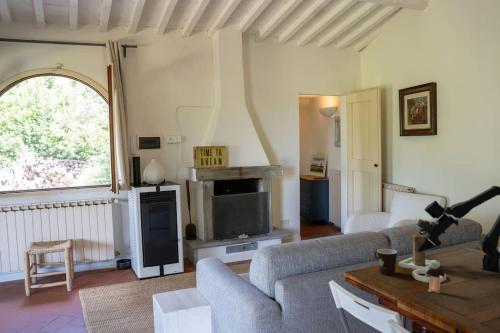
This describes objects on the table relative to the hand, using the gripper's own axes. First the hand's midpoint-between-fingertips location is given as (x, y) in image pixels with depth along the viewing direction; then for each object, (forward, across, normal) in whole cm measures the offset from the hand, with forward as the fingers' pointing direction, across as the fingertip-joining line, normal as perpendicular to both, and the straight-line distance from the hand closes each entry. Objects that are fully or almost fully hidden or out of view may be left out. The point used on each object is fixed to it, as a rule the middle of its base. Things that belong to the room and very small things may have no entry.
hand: (416, 248), depth 190 cm
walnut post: (+5, 0, +6) cm, 8 cm away
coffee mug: (+17, +10, -4) cm, 20 cm away
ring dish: (+5, +16, +7) cm, 18 cm away
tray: (+5, 0, +7) cm, 9 cm away
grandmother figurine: (+6, +33, +6) cm, 35 cm away
